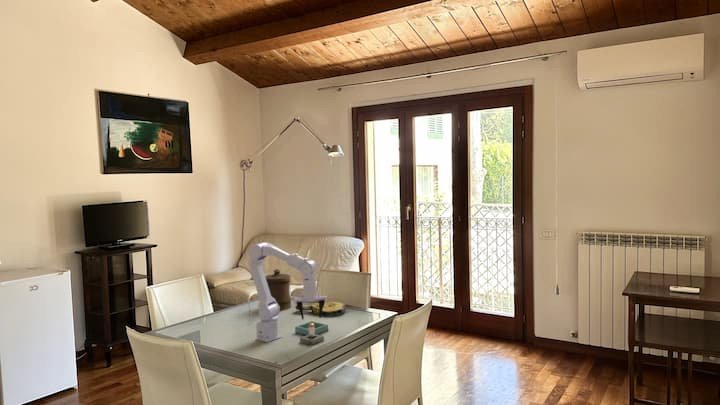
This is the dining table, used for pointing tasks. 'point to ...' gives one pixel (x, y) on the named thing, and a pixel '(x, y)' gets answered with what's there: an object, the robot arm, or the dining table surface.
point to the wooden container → (280, 288)
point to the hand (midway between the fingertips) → (311, 318)
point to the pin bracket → (311, 341)
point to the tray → (318, 328)
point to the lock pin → (311, 330)
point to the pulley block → (326, 308)
